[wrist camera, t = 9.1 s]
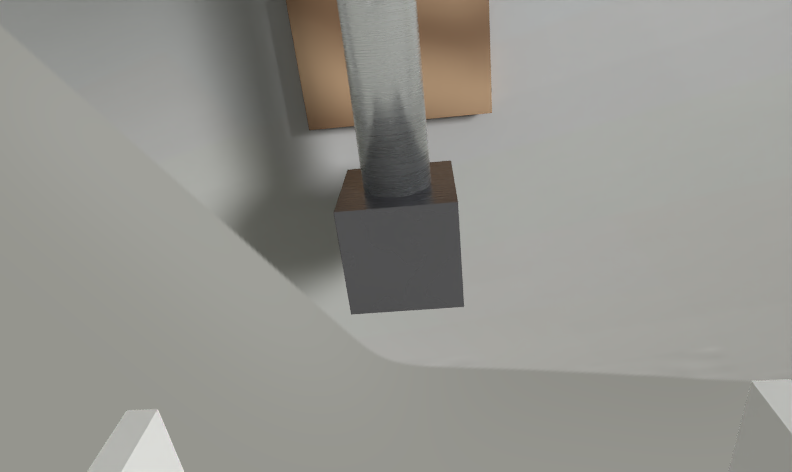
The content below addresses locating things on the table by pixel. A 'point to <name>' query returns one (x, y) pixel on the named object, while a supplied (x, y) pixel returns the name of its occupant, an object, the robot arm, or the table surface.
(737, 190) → the table surface
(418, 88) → the shaft
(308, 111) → the walnut board
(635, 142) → the table surface
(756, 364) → the table surface
